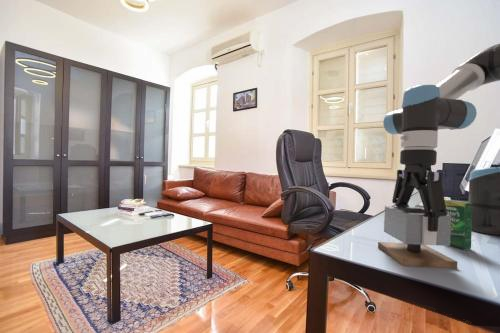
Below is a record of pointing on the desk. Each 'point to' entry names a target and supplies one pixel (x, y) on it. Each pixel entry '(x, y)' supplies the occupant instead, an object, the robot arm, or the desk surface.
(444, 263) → the post
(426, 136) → the robot arm
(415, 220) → the concrete planter box
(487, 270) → the desk surface
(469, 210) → the coffee box
